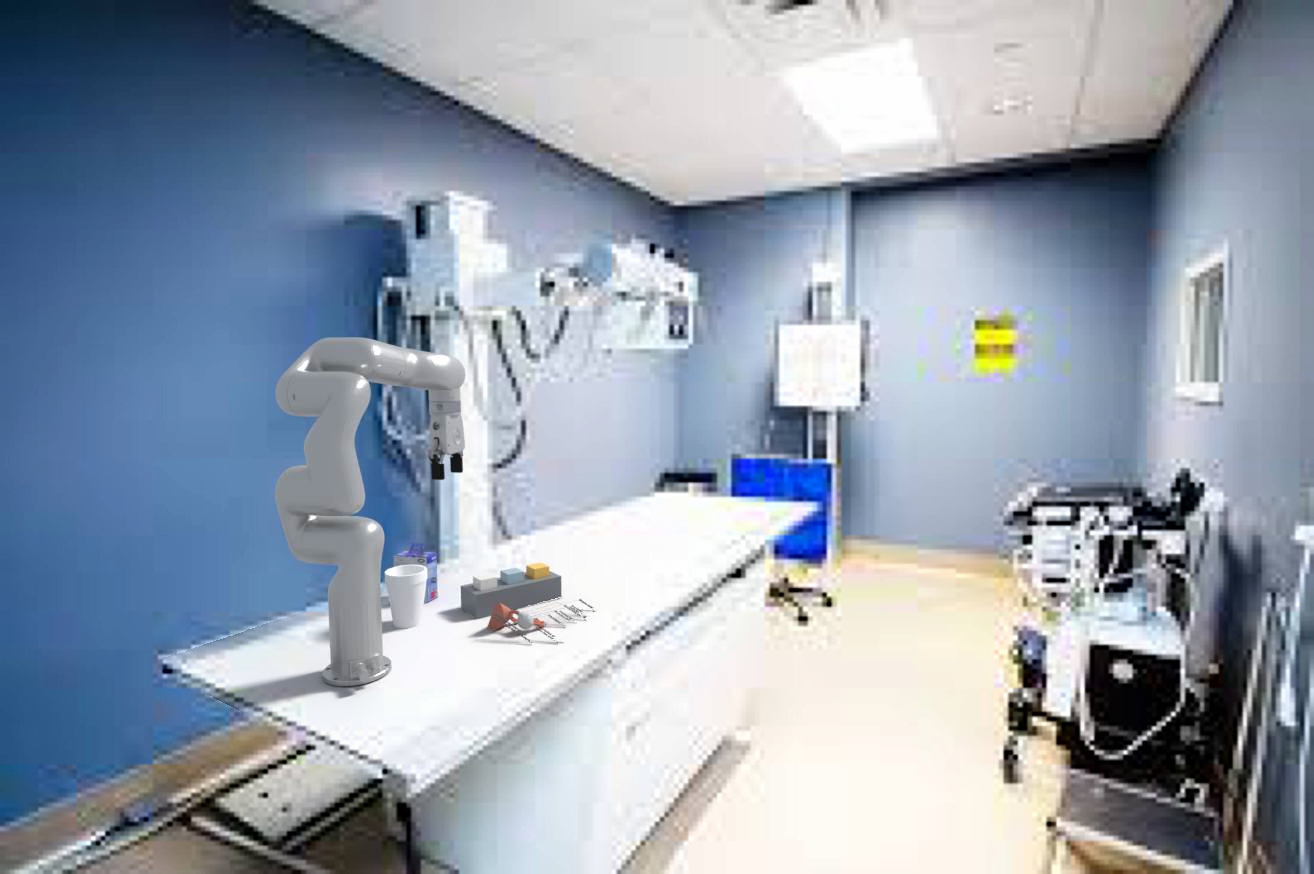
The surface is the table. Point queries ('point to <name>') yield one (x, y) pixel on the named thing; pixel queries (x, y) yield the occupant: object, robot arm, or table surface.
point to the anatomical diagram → (522, 618)
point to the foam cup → (406, 594)
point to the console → (510, 595)
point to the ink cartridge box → (425, 560)
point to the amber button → (537, 570)
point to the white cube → (484, 582)
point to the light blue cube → (512, 576)
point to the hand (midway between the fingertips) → (447, 475)
